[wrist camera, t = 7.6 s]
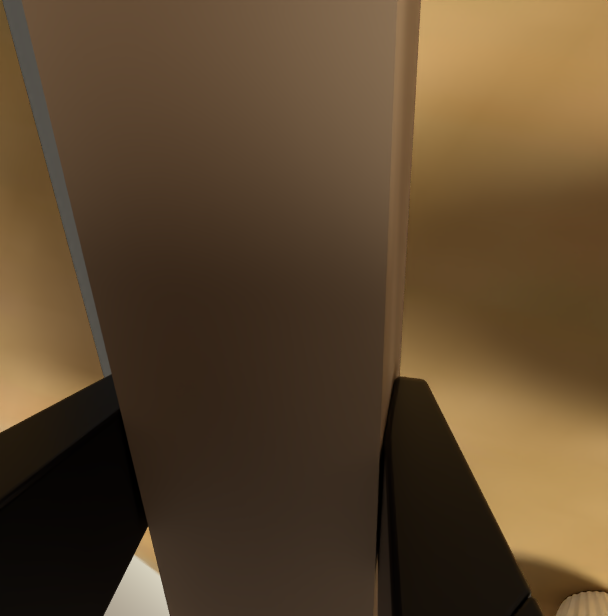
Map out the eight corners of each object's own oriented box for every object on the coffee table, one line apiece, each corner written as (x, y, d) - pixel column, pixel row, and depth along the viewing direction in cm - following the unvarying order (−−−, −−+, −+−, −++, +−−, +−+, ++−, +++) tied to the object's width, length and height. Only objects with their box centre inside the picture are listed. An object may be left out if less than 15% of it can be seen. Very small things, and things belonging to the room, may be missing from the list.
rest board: (226, -457, 11) (196, -507, 10) (275, 382, 23) (264, 406, 22) (-61, -402, 13) (-117, -440, 12) (123, 360, 24) (105, 381, 23)
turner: (527, -135, 6) (589, -251, 3) (418, 753, 14) (409, 919, 12) (91, -95, 7) (-132, -156, 4) (233, 706, 15) (188, 848, 13)
